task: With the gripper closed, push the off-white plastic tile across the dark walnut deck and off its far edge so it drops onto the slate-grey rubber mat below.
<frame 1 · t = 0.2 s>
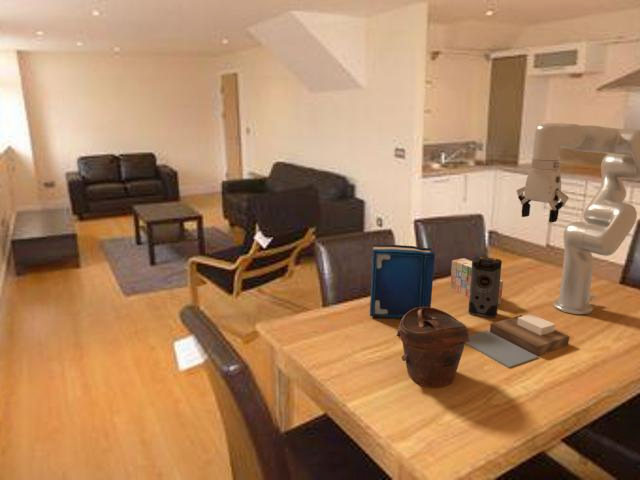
hand: (538, 219, 157), 36 cm above the table, tool pointing down, fingers open, 9 cm apart
tile: (535, 324, 155), point 4 cm above the table, touching deck
stack of blocks: (474, 296, 190), on the table
mat: (496, 348, 148), on the table
book: (400, 315, 173), on the table
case: (429, 375, 134), on the table
deck: (527, 338, 154), on the table
electronic device: (482, 314, 173), on the table
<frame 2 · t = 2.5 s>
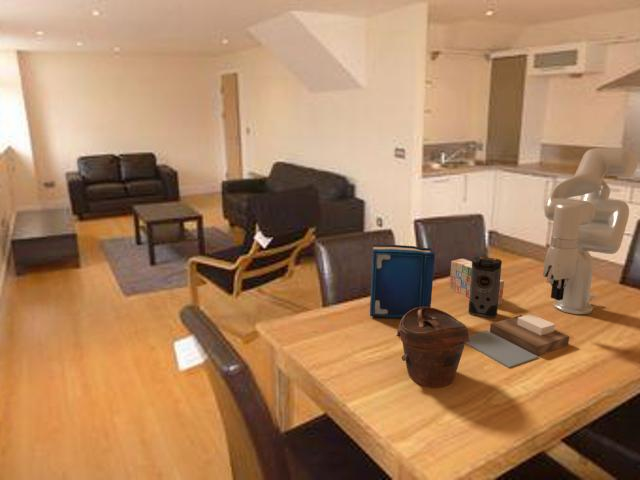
hand: (556, 298, 156), 11 cm above the table, tool pointing down, fingers closed
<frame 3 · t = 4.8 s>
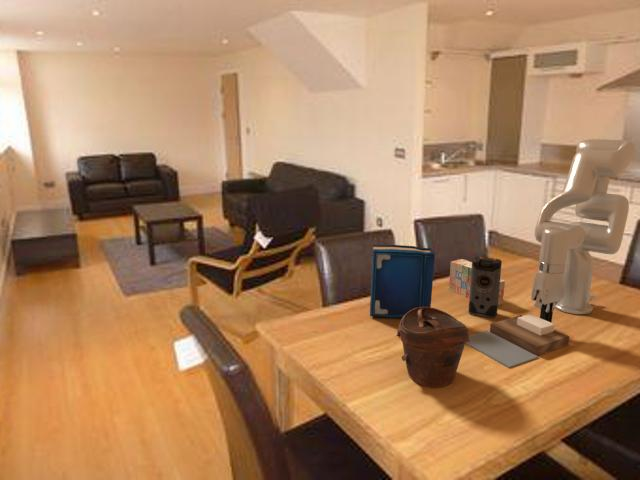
hand: (545, 321, 157), 4 cm above the table, tool pointing down, fingers closed
tile: (535, 324, 155), point 4 cm above the table, touching gripper
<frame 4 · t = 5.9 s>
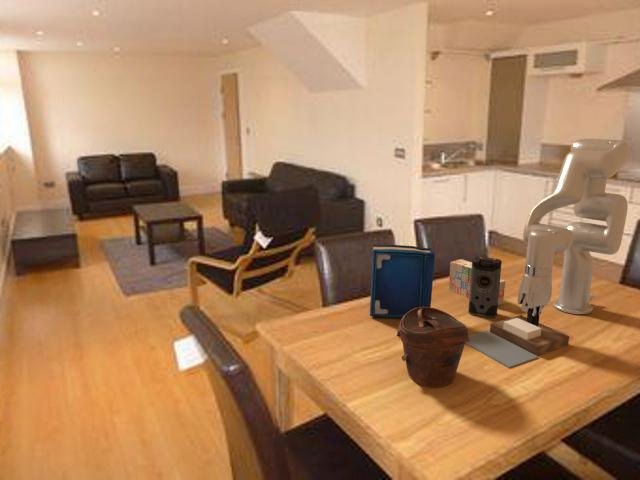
hand: (532, 325, 154), 4 cm above the table, tool pointing down, fingers closed
tile: (521, 328, 152), point 4 cm above the table, touching gripper
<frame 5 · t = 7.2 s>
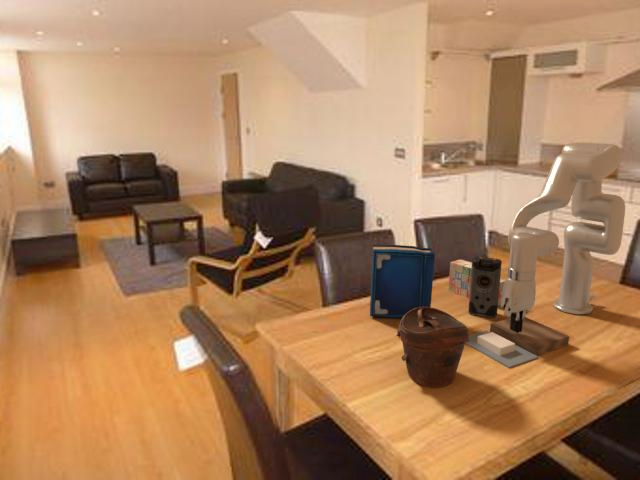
hand: (515, 330, 151), 4 cm above the table, tool pointing down, fingers closed
tile: (495, 343, 148), point 2 cm above the table, tilted 180°, touching mat
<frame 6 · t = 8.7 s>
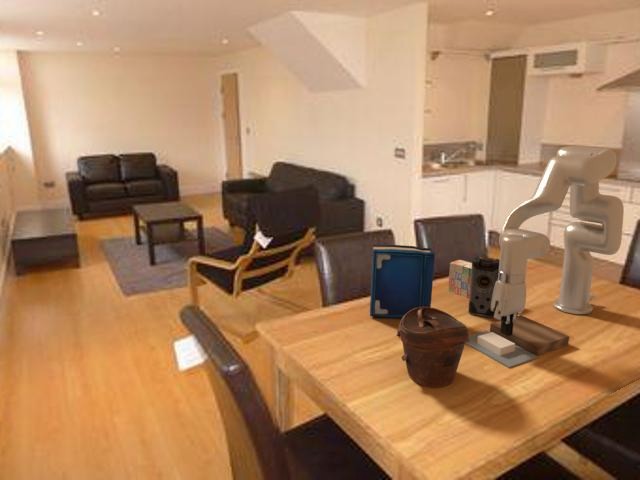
hand: (506, 333, 149), 4 cm above the table, tool pointing down, fingers closed
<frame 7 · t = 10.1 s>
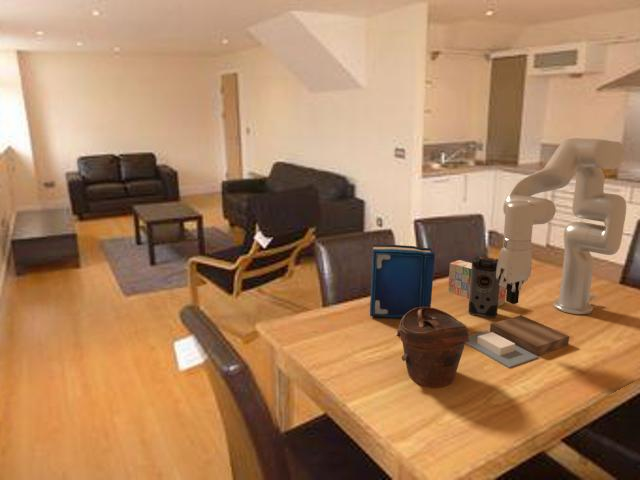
hand: (511, 302, 147), 14 cm above the table, tool pointing down, fingers closed
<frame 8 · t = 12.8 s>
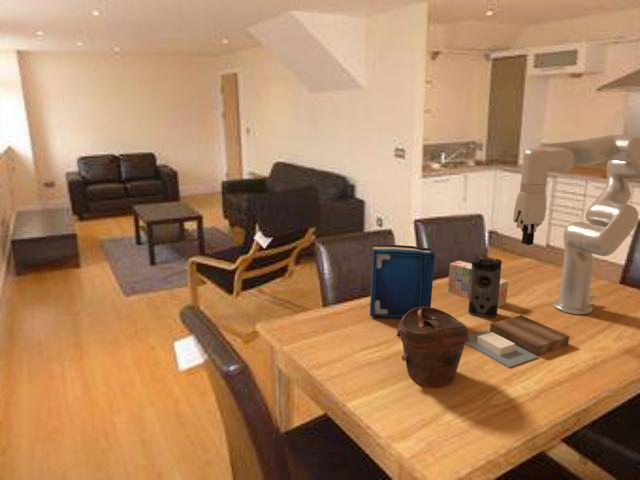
hand: (527, 243, 161), 27 cm above the table, tool pointing down, fingers closed
at the end: tile point 1.6 cm above the table; tile inside the target area (0.4 cm from its centre), point 1.6 cm above the table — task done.
